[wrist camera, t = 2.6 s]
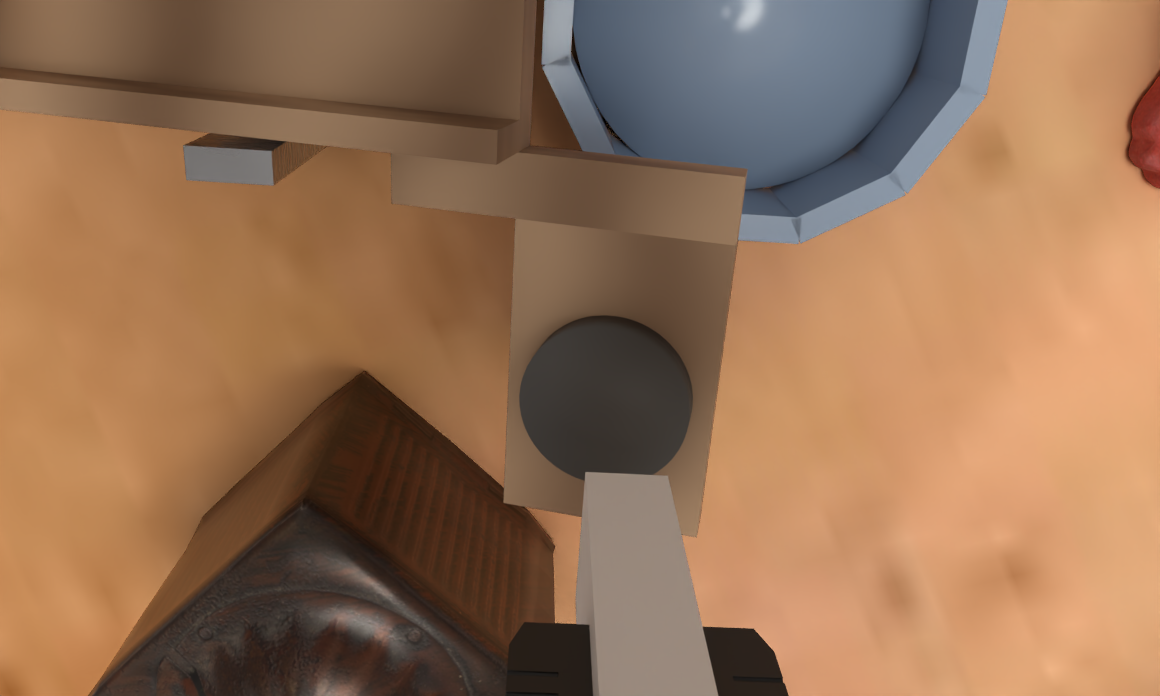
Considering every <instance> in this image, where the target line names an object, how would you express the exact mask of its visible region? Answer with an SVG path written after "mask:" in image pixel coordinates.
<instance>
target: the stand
mask: <svg viewBox="0 0 1160 696" xmlns="http://www.w3.org/2000/svg"><path fill="white" fill-rule="evenodd" d="M325 147H327V146H323V145H314V144H305V143H296V142H287V141H278V140H269V139H261V138H252V137H243V136H234V135H225V134H216V133H210V134H207V135H205V136H203V137H201V138H199V139H196V140H194V141H192V142H190V143H188V144H185V145H183V149H184V159H185V170H186V180H192V181H209V182H225V183H241V184H257V185H273V186H274V185H275V184H276V183H278V182H279V181H280V180H282V179H283V178H284V177H286V176H287V175H289V174H290V173H291V172H293V171H294V170H295V169H297V168H298V167H299V166H301V165H302V164H304V163H305V162H306V161H308V160H309V159H310V158H312V157H313V156H314V155H316V154H317V153H319V152H320V151H321V150H323V149H324V148H325Z"/></svg>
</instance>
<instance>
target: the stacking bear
mask: <svg viewBox="0 0 1160 696" xmlns="http://www.w3.org/2000/svg"><path fill="white" fill-rule="evenodd" d="M1131 125H1132V134H1133V139H1132V141H1131V144H1130V147H1129V158H1130V160H1131V161H1132V162H1133V164H1134V165H1135V166H1137V167H1139V168H1141V169H1142V170H1143V173H1144V176H1145V178H1146V180H1147V181H1148V182H1149V183H1151V184H1152V185H1153V186H1155V187H1157V188H1160V75H1159V77H1158V78H1157V80H1156V81H1155V82H1154V84H1153V85H1152V86H1151V88H1150V89H1149V90H1148V92H1147V93H1146V94H1145V96H1144V97H1143V98H1142V100H1141V101H1140V103H1139V105H1138V107H1137V109H1136V111H1135V113H1134V115H1133V119H1132V124H1131Z"/></svg>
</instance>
